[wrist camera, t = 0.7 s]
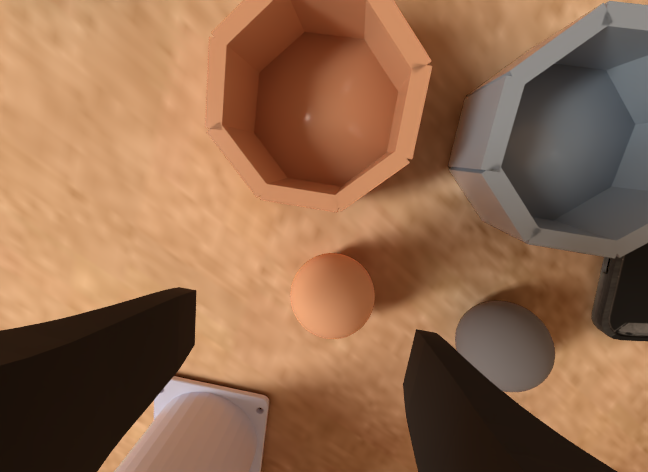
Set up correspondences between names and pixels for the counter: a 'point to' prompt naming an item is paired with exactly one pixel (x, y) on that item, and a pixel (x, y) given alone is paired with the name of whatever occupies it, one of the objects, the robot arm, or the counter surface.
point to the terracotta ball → (332, 296)
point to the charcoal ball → (506, 345)
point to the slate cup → (564, 138)
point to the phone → (623, 297)
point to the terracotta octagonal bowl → (315, 97)
